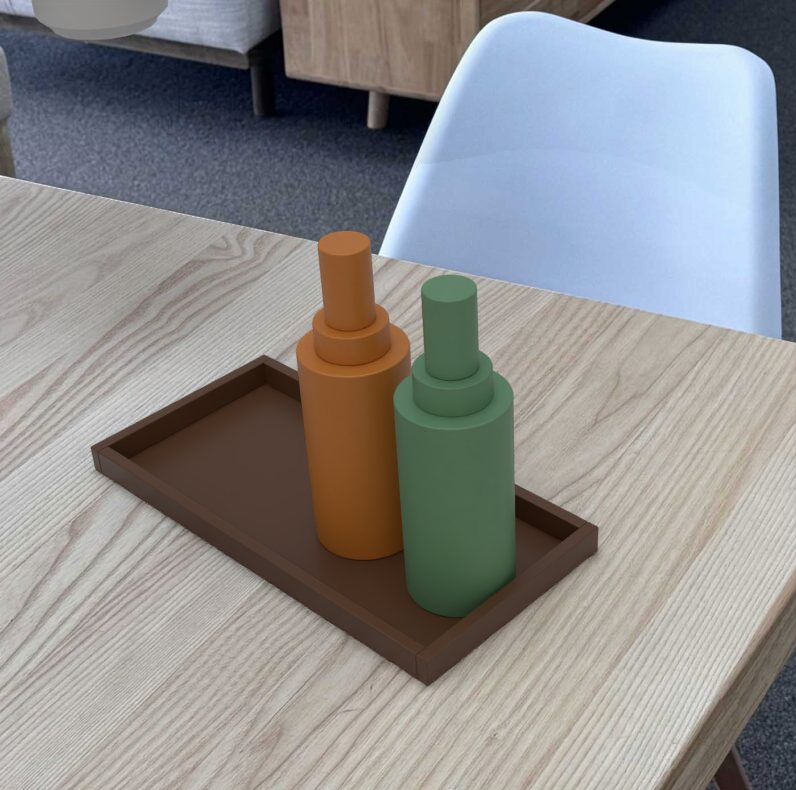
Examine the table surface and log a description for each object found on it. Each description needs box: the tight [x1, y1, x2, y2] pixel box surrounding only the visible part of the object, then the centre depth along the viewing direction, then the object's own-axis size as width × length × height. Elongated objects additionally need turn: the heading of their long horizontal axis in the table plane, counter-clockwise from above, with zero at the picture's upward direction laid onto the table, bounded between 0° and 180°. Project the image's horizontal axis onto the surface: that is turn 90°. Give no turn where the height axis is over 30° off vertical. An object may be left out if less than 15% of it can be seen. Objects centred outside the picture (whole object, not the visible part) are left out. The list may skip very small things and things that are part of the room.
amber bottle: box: [295, 230, 412, 560], centre depth 68 cm, size 5×5×16 cm
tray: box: [89, 354, 599, 687], centre depth 74 cm, size 25×12×2 cm, turn 49°
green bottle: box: [393, 274, 516, 618], centre depth 64 cm, size 5×5×16 cm
